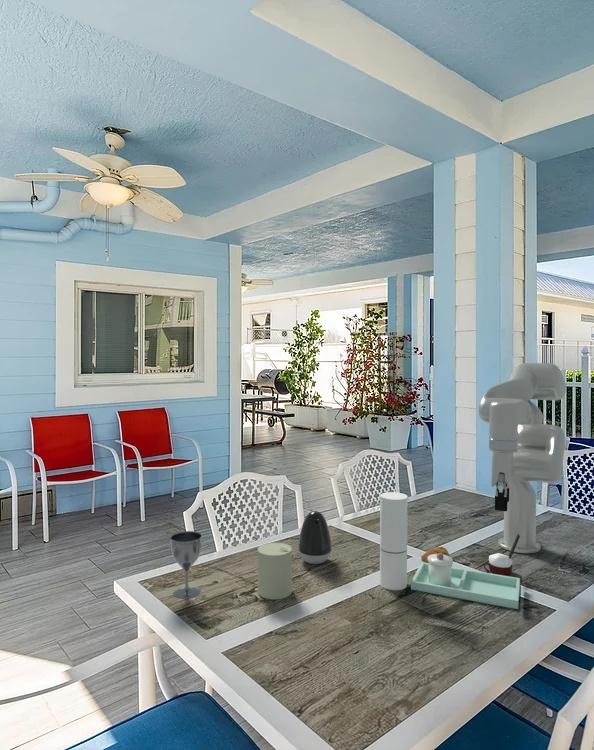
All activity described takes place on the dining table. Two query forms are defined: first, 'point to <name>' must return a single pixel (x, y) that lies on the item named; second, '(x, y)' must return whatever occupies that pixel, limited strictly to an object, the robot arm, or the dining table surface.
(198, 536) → the wine glass
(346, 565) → the dining table surface
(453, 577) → the tray
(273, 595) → the can
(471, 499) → the dining table surface
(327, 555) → the black egg-shaped piece
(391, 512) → the cylindrical container
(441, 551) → the pastry
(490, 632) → the dining table surface
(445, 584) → the sugar pot
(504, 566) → the cocoa
